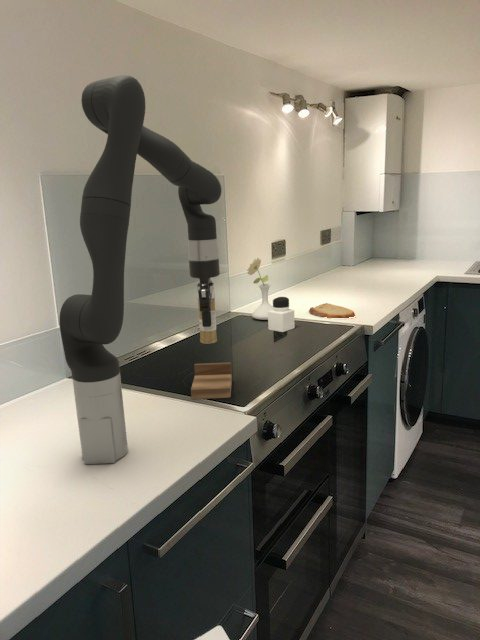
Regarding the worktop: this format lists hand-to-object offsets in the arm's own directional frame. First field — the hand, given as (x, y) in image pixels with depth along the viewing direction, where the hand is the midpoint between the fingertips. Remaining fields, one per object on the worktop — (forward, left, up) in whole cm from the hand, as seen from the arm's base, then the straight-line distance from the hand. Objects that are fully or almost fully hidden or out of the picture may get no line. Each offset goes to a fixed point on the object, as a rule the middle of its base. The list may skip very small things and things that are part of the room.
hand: (207, 323), depth 139 cm
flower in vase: (+78, -16, -19) cm, 82 cm away
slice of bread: (+82, -44, -19) cm, 95 cm away
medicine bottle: (+61, -22, -19) cm, 68 cm away
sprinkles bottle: (0, 0, -5) cm, 5 cm away
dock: (+1, 0, -18) cm, 19 cm away
